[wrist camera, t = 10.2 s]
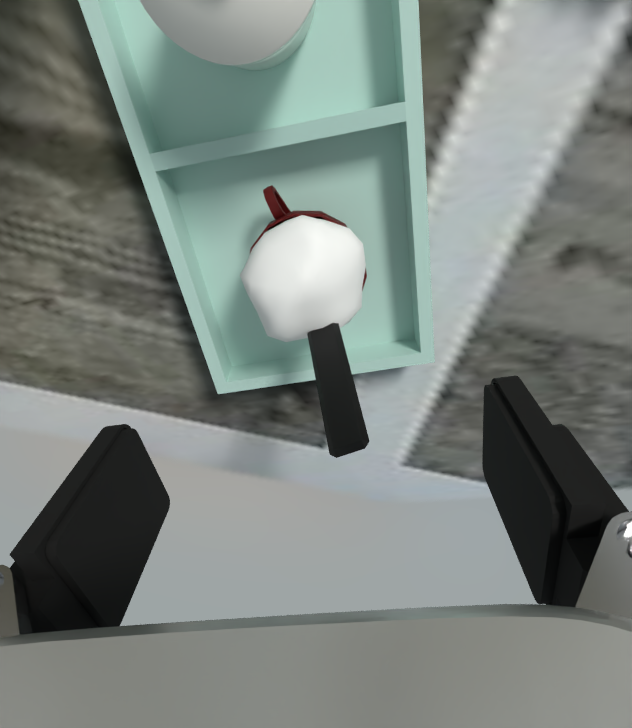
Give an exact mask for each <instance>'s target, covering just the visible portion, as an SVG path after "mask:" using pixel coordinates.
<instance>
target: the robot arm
mask: <svg viewBox="0 0 632 728" xmlns="http://www.w3.org/2000/svg"><path fill="white" fill-rule="evenodd" d="M483 472H484V476H485V479H486V482H487V484H488V487H489V489H490V491H491V494H492V496H493V499H494V501H495V503H496V506H497V508H498V511H499V513H500V516H501V518H502V520H503V523H504V525H505V528H506V530H507V533H508V535H509V538H510V540H511V542H512V545H513V547H514V550H515V552H516V555H517V557H518V560H519V562H520V564H521V567H522V569H523V572H524V574H525V576H526V579H527V581H528V584H529V586H530V589H531V591H532V594H533V596H534V598H535V600H536V602H537V603H538V604H546V605H525V604H520V605H519V604H513V605H512V604H502V605H501V604H500V605H475V606H449V607H426V608H425V607H424V608H407V609H390V610H372V611H354V612H336V613H319V614H303V615H287V616H270V617H254V618H238V619H222V620H206V621H193V622H192V621H190V622H176V623H161V624H147V625H133V626H120V624H121V622H122V619H123V617H124V615H125V612H126V610H127V607H128V605H129V603H130V600H131V598H132V595H133V593H134V591H135V588H136V586H137V584H138V581H139V579H140V576H141V574H142V572H143V570H144V567H145V564H146V562H147V560H148V557H149V555H150V553H151V550H152V548H153V546H154V543H155V541H156V539H157V536H158V534H159V531H160V529H161V527H162V524H163V522H164V519H165V517H166V515H167V512H168V510H169V505H170V499H169V496H168V494H167V491H166V489H165V487H164V485H163V483H162V481H161V479H160V477H159V475H158V473H157V471H156V469H155V467H154V465H153V463H152V461H151V459H150V457H149V455H148V453H147V451H146V449H145V447H144V445H143V442H142V440H141V438H140V436H139V434H138V432H137V431H136V430H135V429H131V427H130V426H129V425H127V424H122V425H114V426H107V427H104V428H103V429H102V430H101V431H100V433H99V434H98V435H97V437H96V438H95V439H94V441H93V442H92V444H91V445H90V446H89V448H88V449H87V450H86V452H85V453H84V454H83V456H82V457H81V459H80V460H79V461H78V463H77V464H76V465H75V467H74V468H73V469H72V471H71V472H70V473H69V475H68V476H67V477H66V479H65V480H64V482H63V483H62V484H61V486H60V487H59V488H58V490H57V491H56V493H55V494H54V495H53V496H52V498H51V500H50V501H49V502H48V503H47V505H46V506H45V507H44V509H43V510H42V511H41V513H40V514H39V516H38V517H37V518H36V519H35V521H34V522H33V523H32V525H31V526H30V528H29V529H28V530H27V532H26V533H25V534H24V536H23V537H22V539H21V540H20V541H19V542H18V544H17V545H16V547H15V548H14V549H13V551H12V552H11V553H10V556H11V557H12V558H13V559H14V561H15V562H14V563H13V565H12V566H11V567H10V568H8V567H7V566H4V565H0V728H632V511H631V512H629V511H628V510H627V508H626V507H625V506H624V505H623V503H622V502H621V500H620V499H619V498H618V496H617V495H616V493H615V492H614V491H613V489H612V488H611V487H610V485H609V484H608V483H607V481H606V480H605V478H604V477H603V476H602V474H601V473H600V472H599V470H598V469H597V468H596V466H595V465H594V464H593V462H592V461H591V459H590V458H589V457H588V455H587V454H586V453H585V451H584V450H583V449H582V447H581V446H580V445H579V443H578V442H577V441H576V439H575V438H574V436H573V435H572V434H571V432H570V431H569V430H568V429H567V428H566V427H565V426H564V425H562V424H558V425H552V424H551V422H550V421H549V420H548V418H547V417H546V415H545V414H544V412H543V411H542V410H541V408H540V407H539V405H538V404H537V402H536V401H535V399H534V398H533V397H532V395H531V394H530V392H529V391H528V389H527V388H526V387H525V385H524V384H523V382H522V381H521V379H520V378H519V377H518V376H509V377H501V378H494V379H492V382H491V385H485V387H484V416H483Z"/></svg>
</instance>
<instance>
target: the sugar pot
mask: <svg viewBox="0 0 632 728" xmlns="http://www.w3.org/2000/svg"><path fill="white" fill-rule="evenodd" d="M140 2H141V3H142V5H143V7H144V9H145V10H146V12H147V13H148V14H149V16H150V17H151V18H152V20H153V21H154V22H155V24H156V25H157V26H158V27H159V28H160V29H161V30H162V31H163V32H164V33H165V34H166V35H167V36H168V37H169V38H170V39H171V40H172V41H173V42H175V43H176V44H177V45H179V46H180V47H182V48H183V49H184V50H186V51H187V52H189V53H191V54H193V55H195V56H197V57H199V58H201V59H203V60H206V61H209V62H212V63H215V64H221V65H226V66H235V67H238V68H241V69H246V70H265V69H269V68H272V67H275V66H277V65H279V64H281V63H282V62H284V61H285V60H287V59H288V58H289V57H290V56H291V55H292V54H293V53H295V51H296V50H297V49H298V48H299V46H300V45H301V44H302V42H303V40H304V39H305V37H306V35H307V33H308V31H309V29H310V26H311V23H312V20H313V17H314V12H315V7H316V0H140Z"/></svg>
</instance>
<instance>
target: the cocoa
mask: <svg viewBox="0 0 632 728" xmlns="http://www.w3.org/2000/svg"><path fill="white" fill-rule="evenodd" d="M263 193H264V197H265V200H266V202H267V205H268V207H269V209H270V211H271V213H272V215H273V217H274V219H275V220H273V221H271V222H270V223H269V224H268V225H267V227H266V228H265V229H264V231H263V232H262V233H261V235H260V236H259V237H258V239H257V240H256V241H255V243H254V244H253V245H252V247H251V249H250V255H249V258H248V260H247V262H246V265H245V267H244V269H243V271H242V272H241V274H240V277H241V280H242V282H243V285H244V287H245V289H246V292H247V294H248V296H249V298H250V300H251V302H252V304H253V305H254V307H255V309H256V311H257V313H258V316H259V318H260V320H261V322H262V325H263V327H264V329H265V331H266V334H267V336H269V337H272V338H275V339H278V340H281V341H284V342H290V341H295V340H300V339H305V338H308V341H309V346H310V352H311V357H312V362H313V368H314V373H315V378H316V384H317V389H318V394H319V400H320V405H321V411H322V416H323V421H324V427H325V432H326V437H327V443H328V448H329V453H330V455H332V456H334V457H336V458H337V457H340V456H343V455H346V454H349V453H352V452H355V451H358V450H362V449H365V447H366V446H367V444H368V443H369V438H368V434H367V430H366V426H365V422H364V419H363V415H362V411H361V407H360V403H359V400H358V396H357V392H356V388H355V384H354V381H353V377H352V373H351V369H350V365H349V361H348V358H347V354H346V350H345V346H344V342H343V339H342V335H341V331H340V328H341V327H343V326H344V325H346V324H347V323H349V322H350V321H351V319H352V318H353V317H354V316H355V315H356V313H357V312H358V311H359V310H360V309H361V307H362V291H363V288H364V284H365V281H366V278H367V272H366V262H365V255H364V247H363V243H362V242H361V241H360V240H359V239H358V238H357V236H356V235H355V234H354V233H353V232H352V231H351V230H350V229H349V228H348V227H347V226H346V224H345V223H343V222H341V221H339V220H337V219H335V218H334V217H332V216H330V215H328V214H326V213H324V212H322V211H292V212H291V211H290V210H289V208H288V207H287V205H286V204H285V202H284V201H283V199H282V198H281V196H280V195H279V193H278V192H277V190H276V189H275V188H274V187H273V186H272V185H271V186H268V187H267V188H265V189H264V190H263Z"/></svg>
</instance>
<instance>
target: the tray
mask: <svg viewBox="0 0 632 728" xmlns="http://www.w3.org/2000/svg"><path fill="white" fill-rule="evenodd" d="M78 1H79V4H80V7H81V9H82V12H83V15H84V18H85V21H86V23H87V26H88V29H89V32H90V35H91V38H92V40H93V43H94V46H95V49H96V52H97V54H98V57H99V60H100V63H101V66H102V69H103V71H104V74H105V77H106V80H107V83H108V85H109V88H110V91H111V94H112V97H113V100H114V102H115V105H116V108H117V111H118V114H119V117H120V119H121V122H122V125H123V128H124V131H125V133H126V136H127V139H128V142H129V145H130V148H131V150H132V153H133V156H134V159H135V162H136V164H137V167H138V170H139V173H140V176H141V179H142V181H143V184H144V187H145V190H146V193H147V195H148V198H149V201H150V204H151V207H152V210H153V212H154V215H155V218H156V221H157V224H158V227H159V229H160V232H161V235H162V238H163V241H164V243H165V246H166V249H167V252H168V255H169V258H170V260H171V263H172V266H173V269H174V272H175V274H176V277H177V280H178V283H179V286H180V289H181V291H182V294H183V297H184V300H185V303H186V305H187V308H188V311H189V314H190V317H191V320H192V322H193V325H194V328H195V331H196V334H197V337H198V339H199V342H200V345H201V348H202V351H203V353H204V356H205V359H206V362H207V365H208V368H209V370H210V373H211V376H212V379H213V382H214V384H215V387H216V390H217V393H218V394H223V393H230V392H237V391H243V390H250V389H257V388H264V387H270V386H277V385H284V384H291V383H298V382H304V381H311V380H316V378H315V373H314V368H313V362H312V357H311V352H310V346H309V341H308V338H305V339H300V340H295V341H290V342H284V341H281V340H278V339H275V338H272V337H269V336H267V334H266V331H265V329H264V327H263V325H262V322H261V320H260V318H259V316H258V313H257V311H256V309H255V307H254V305H253V304H252V302H251V300H250V298H249V296H248V294H247V292H246V289H245V287H244V285H243V282H242V280H241V277H240V274H241V272H242V271H243V269H244V267H245V265H246V262H247V260H248V258H249V255H250V249H251V247H252V245H253V244H254V243H255V241H256V240H257V239H258V237H259V236H260V235H261V233H262V232H263V231H264V229H265V228H266V227H267V225H268V224H269V223H270V222H271V221H273V220H275V219H274V217H273V215H272V213H271V211H270V209H269V207H268V205H267V202H266V200H265V197H264V193H263V190H264V189H265V188H267V187H268V186H271V185H272V186H273V187H274V188H275V189H276V190H277V192H278V193H279V195H280V196H281V198H282V199H283V201H284V202H285V204H286V205H287V207H288V208H289V210H290V211H291V212H292V211H322V212H324V213H326V214H328V215H330V216H332V217H334V218H335V219H337V220H339V221H341V222H343V223H345V224H346V226H347V227H348V228H349V229H350V230H351V231H352V232H353V233H354V234H355V235H356V236H357V238H358V239H359V240H360V241H361V242H362V243H363V247H364V255H365V262H366V272H367V278H366V281H365V284H364V288H363V291H362V307H361V309H360V310H359V311H358V312H357V313H356V315H355V316H354V317H353V318H352V319H351V321H350V322H349V323H347V324H346V325H344V326H343V327H341V328H340V331H341V335H342V339H343V342H344V346H345V350H346V354H347V358H348V361H349V365H350V369H351V373H352V374H358V373H365V372H372V371H379V370H386V369H392V368H399V367H406V366H413V365H419V364H426V363H433V362H435V360H434V337H433V315H432V293H431V271H430V248H429V226H428V204H427V182H426V160H425V137H424V115H423V93H422V71H421V48H420V26H419V4H418V0H316V7H315V12H314V17H313V20H312V23H311V26H310V29H309V31H308V33H307V35H306V37H305V39H304V40H303V42H302V44H301V45H300V46H299V48H298V49H297V50H296V51H295V53H293V54H292V55H291V56H290V57H289V58H288V59H287V60H285V61H284V62H282V63H281V64H279V65H277V66H275V67H272V68H269V69H265V70H246V69H241V68H238V67H235V66H226V65H221V64H215V63H212V62H209V61H206V60H203V59H201V58H199V57H197V56H195V55H193V54H191V53H189V52H187V51H186V50H184V49H183V48H182V47H180V46H179V45H177V44H176V43H175V42H173V41H172V40H171V39H170V38H169V37H168V36H167V35H166V34H165V33H164V32H163V31H162V30H161V29H160V28H159V27H158V26H157V25H156V24H155V22H154V21H153V20H152V18H151V17H150V16H149V14H148V13H147V12H146V10H145V9H144V7H143V5H142V3H141V2H140V0H78Z"/></svg>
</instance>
